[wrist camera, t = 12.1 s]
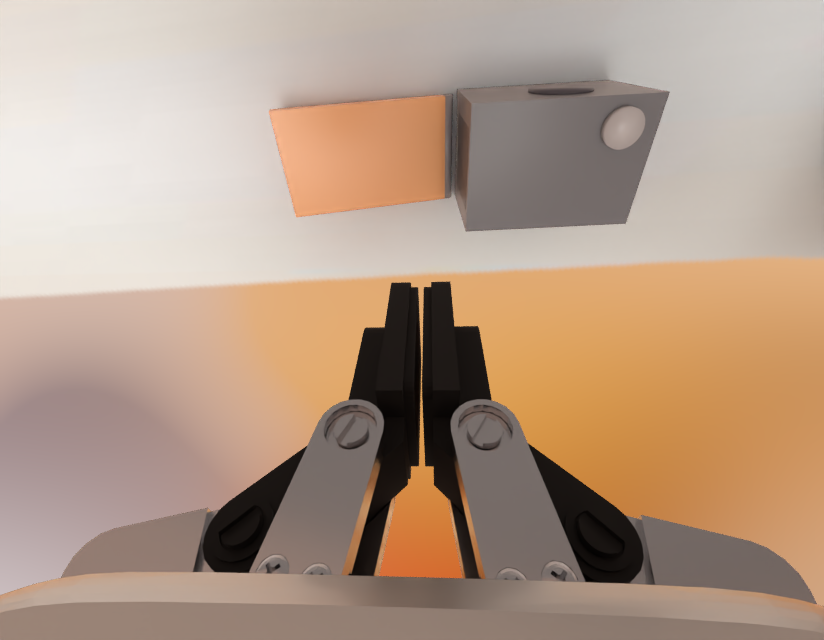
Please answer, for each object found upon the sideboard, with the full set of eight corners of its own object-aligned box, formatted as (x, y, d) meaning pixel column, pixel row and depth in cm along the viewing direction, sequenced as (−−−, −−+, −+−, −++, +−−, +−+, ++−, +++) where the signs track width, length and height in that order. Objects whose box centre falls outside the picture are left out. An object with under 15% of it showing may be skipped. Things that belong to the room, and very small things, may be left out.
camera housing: (609, 77, 23) (676, 89, 18) (582, 187, 28) (629, 226, 22) (457, 86, 24) (472, 101, 18) (454, 194, 28) (466, 234, 22)
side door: (454, 95, 23) (268, 111, 21) (452, 197, 27) (296, 217, 25) (449, 93, 24) (270, 108, 22) (447, 192, 28) (296, 211, 26)
